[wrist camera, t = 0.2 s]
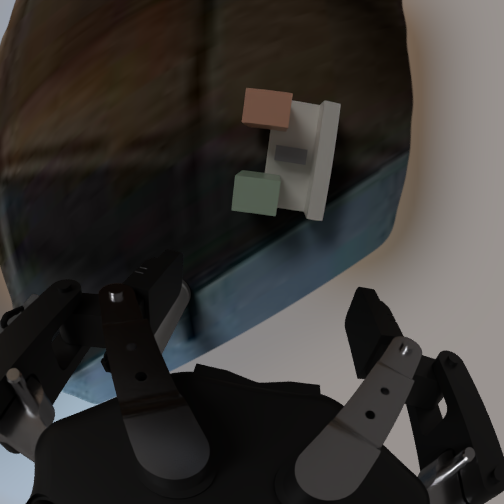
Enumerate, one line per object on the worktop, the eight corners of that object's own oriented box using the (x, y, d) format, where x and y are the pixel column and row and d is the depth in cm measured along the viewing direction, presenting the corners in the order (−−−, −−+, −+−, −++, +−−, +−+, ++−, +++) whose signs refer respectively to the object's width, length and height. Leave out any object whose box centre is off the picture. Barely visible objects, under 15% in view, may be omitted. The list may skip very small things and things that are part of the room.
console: (274, 100, 34) (274, 92, 29) (331, 110, 34) (340, 104, 29) (261, 202, 40) (258, 211, 34) (315, 210, 40) (322, 221, 34)
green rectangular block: (242, 170, 36) (235, 175, 30) (279, 175, 36) (280, 181, 30) (239, 199, 38) (231, 210, 31) (275, 204, 38) (275, 216, 31)
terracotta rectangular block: (251, 98, 33) (246, 87, 26) (289, 103, 33) (292, 93, 26) (247, 126, 34) (241, 122, 28) (285, 131, 34) (288, 127, 28)
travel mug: (152, 275, 46) (92, 347, 27) (187, 274, 45) (138, 353, 27) (160, 306, 48) (110, 383, 29) (194, 306, 47) (154, 391, 29)
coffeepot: (52, 336, 56) (14, 378, 39) (28, 315, 55) (-11, 352, 38) (57, 295, 50) (8, 340, 34) (30, 273, 49) (-20, 310, 33)
